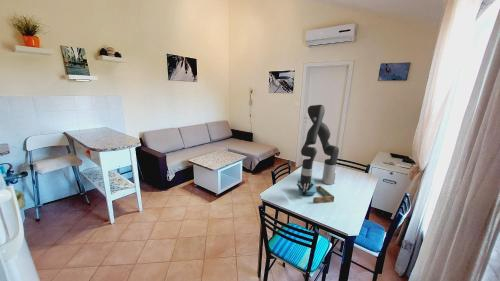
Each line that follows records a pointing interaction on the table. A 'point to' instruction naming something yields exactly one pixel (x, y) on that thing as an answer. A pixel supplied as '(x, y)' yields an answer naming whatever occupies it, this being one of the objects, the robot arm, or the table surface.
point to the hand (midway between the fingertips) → (303, 195)
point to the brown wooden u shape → (328, 197)
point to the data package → (312, 190)
